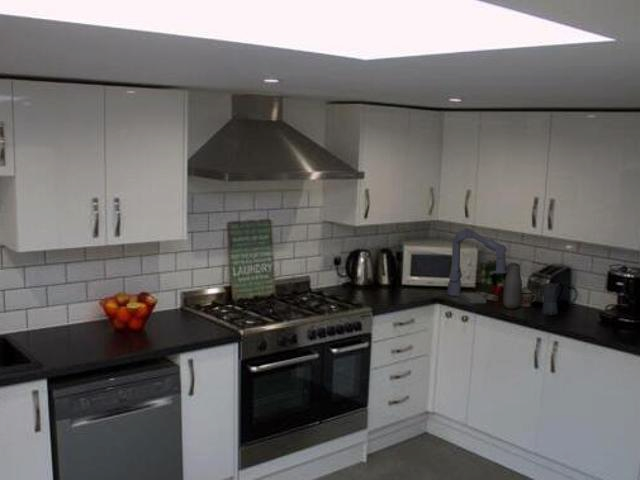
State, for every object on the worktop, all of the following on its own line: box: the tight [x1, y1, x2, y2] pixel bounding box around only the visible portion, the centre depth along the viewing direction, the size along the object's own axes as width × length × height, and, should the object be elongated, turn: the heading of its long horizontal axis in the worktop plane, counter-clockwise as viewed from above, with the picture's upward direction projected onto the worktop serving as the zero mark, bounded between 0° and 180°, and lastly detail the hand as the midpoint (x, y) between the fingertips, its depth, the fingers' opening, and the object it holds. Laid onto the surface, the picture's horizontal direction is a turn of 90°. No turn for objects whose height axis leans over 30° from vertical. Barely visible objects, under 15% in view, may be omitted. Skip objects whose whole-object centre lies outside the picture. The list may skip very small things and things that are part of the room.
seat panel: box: [460, 292, 487, 304], centre depth 425 cm, size 18×10×2 cm, turn 7°
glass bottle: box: [502, 262, 523, 310], centre depth 402 cm, size 10×10×28 cm
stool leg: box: [476, 290, 499, 302], centre depth 429 cm, size 16×3×3 cm, turn 37°
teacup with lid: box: [519, 286, 537, 308], centre depth 413 cm, size 12×9×12 cm
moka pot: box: [540, 280, 565, 316], centre depth 393 cm, size 10×15×20 cm, turn 111°
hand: (500, 285), depth 424 cm, fingers open, 7 cm apart
